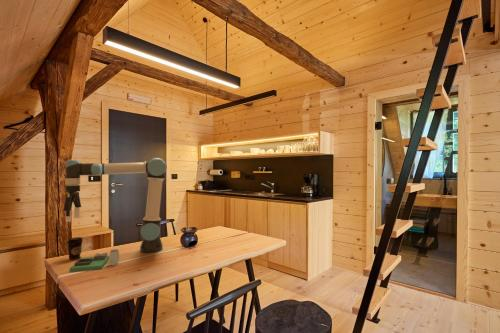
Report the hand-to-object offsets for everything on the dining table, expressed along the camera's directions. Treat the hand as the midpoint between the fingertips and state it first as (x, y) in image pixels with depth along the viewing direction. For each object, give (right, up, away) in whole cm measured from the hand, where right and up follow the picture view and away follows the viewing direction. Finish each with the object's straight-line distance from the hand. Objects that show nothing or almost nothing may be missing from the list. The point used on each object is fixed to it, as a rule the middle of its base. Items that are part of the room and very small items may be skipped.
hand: (72, 219), depth 164 cm
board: (+14, -26, -6) cm, 30 cm away
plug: (+27, -26, -4) cm, 38 cm away
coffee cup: (-2, -26, +5) cm, 27 cm away
